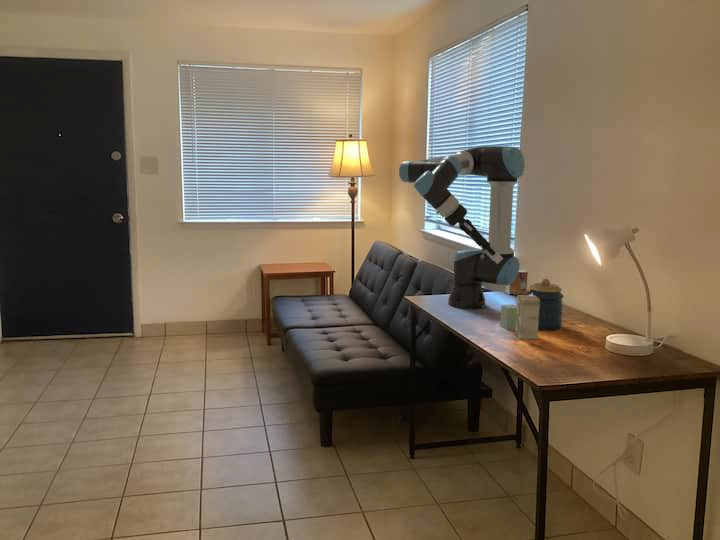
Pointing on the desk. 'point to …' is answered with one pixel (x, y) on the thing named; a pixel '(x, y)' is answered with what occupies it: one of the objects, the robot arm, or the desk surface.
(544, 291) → the canister
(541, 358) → the desk surface
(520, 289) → the small box
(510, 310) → the sage block
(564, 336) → the desk surface
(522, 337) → the tall white box
